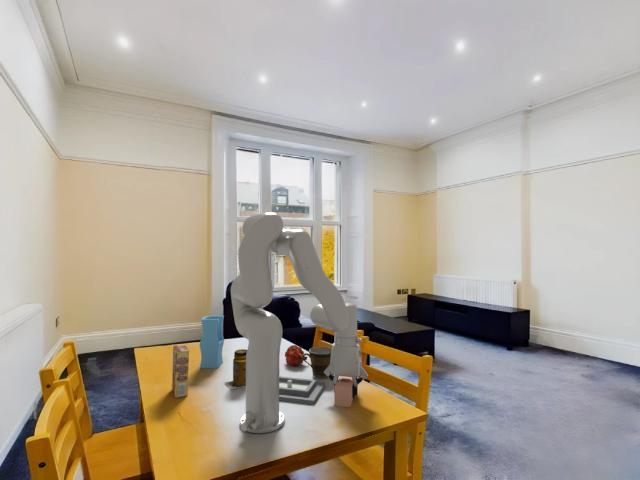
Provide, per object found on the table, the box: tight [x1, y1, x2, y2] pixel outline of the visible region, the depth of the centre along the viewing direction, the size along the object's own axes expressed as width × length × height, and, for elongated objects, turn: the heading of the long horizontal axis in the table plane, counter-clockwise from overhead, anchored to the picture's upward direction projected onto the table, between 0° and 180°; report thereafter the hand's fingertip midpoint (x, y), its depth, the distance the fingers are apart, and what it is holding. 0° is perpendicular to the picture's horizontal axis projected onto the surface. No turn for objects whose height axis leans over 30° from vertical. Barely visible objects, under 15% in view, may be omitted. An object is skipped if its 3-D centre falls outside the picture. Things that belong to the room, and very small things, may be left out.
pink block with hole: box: [333, 376, 354, 408], centre depth 117 cm, size 12×5×6 cm, turn 165°
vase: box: [199, 315, 225, 369], centre depth 151 cm, size 8×8×20 cm
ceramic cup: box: [302, 346, 332, 380], centre depth 138 cm, size 13×10×10 cm
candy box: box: [171, 344, 190, 399], centre depth 122 cm, size 9×4×15 cm, turn 29°
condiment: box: [224, 348, 248, 391], centre depth 130 cm, size 7×8×12 cm
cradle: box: [279, 375, 327, 405], centre depth 124 cm, size 16×22×4 cm
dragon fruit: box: [284, 344, 308, 368], centre depth 151 cm, size 8×8×12 cm
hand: (345, 395), depth 117 cm, fingers closed on pink block with hole, 5 cm apart
